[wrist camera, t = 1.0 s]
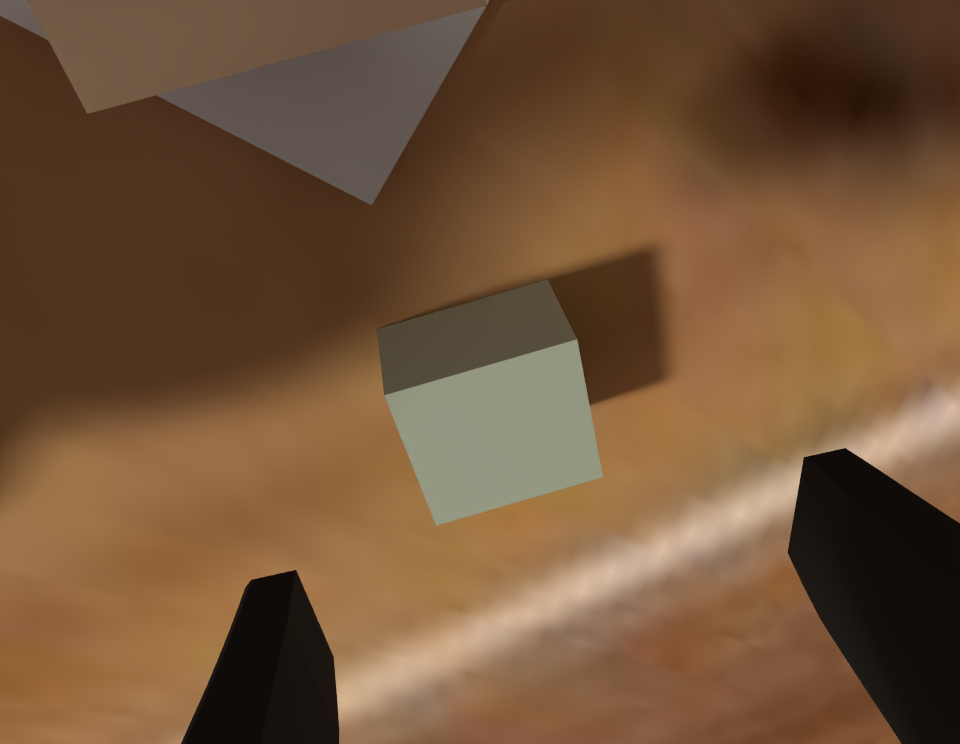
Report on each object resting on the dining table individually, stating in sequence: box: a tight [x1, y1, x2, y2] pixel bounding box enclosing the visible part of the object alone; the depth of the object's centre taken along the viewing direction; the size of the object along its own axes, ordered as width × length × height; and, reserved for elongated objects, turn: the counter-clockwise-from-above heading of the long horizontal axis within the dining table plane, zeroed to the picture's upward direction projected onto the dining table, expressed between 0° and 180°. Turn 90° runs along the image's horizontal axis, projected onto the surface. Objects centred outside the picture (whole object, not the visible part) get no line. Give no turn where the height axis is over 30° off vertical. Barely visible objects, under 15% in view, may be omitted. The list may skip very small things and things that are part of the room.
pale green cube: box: [377, 279, 603, 525], centre depth 19 cm, size 4×4×3 cm
